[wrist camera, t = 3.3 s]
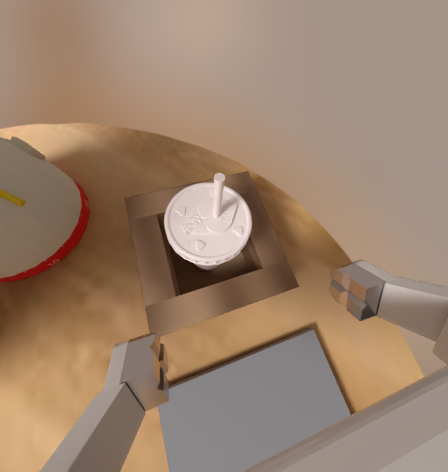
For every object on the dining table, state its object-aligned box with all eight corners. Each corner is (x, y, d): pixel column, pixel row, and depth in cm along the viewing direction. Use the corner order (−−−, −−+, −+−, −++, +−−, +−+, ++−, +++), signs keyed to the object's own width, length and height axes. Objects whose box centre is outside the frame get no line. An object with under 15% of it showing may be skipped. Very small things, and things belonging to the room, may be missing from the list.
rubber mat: (196, 599, 14) (195, 619, 13) (158, 390, 18) (155, 394, 17) (376, 485, 17) (386, 496, 16) (308, 328, 21) (313, 329, 20)
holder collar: (164, 332, 20) (151, 339, 15) (140, 220, 24) (125, 198, 19) (279, 291, 22) (299, 286, 18) (240, 196, 26) (247, 171, 22)
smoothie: (244, 265, 23) (296, 206, 10) (195, 293, 21) (178, 265, 8) (218, 221, 25) (232, 120, 12) (170, 243, 23) (125, 156, 10)
